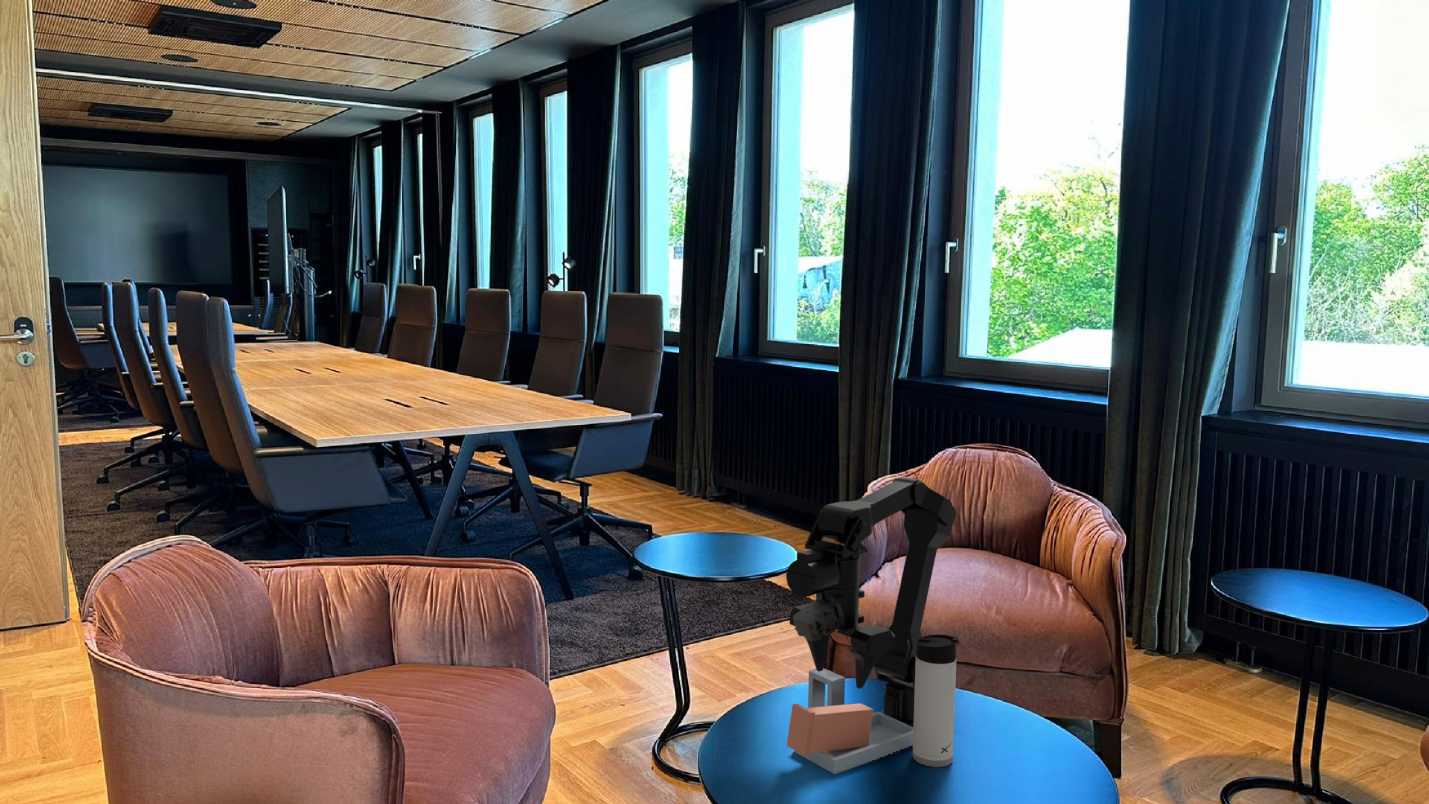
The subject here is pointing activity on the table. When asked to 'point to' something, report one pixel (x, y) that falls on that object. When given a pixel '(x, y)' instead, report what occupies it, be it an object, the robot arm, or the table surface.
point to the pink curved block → (829, 728)
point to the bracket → (818, 688)
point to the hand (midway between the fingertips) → (839, 679)
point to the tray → (882, 741)
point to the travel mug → (934, 700)
